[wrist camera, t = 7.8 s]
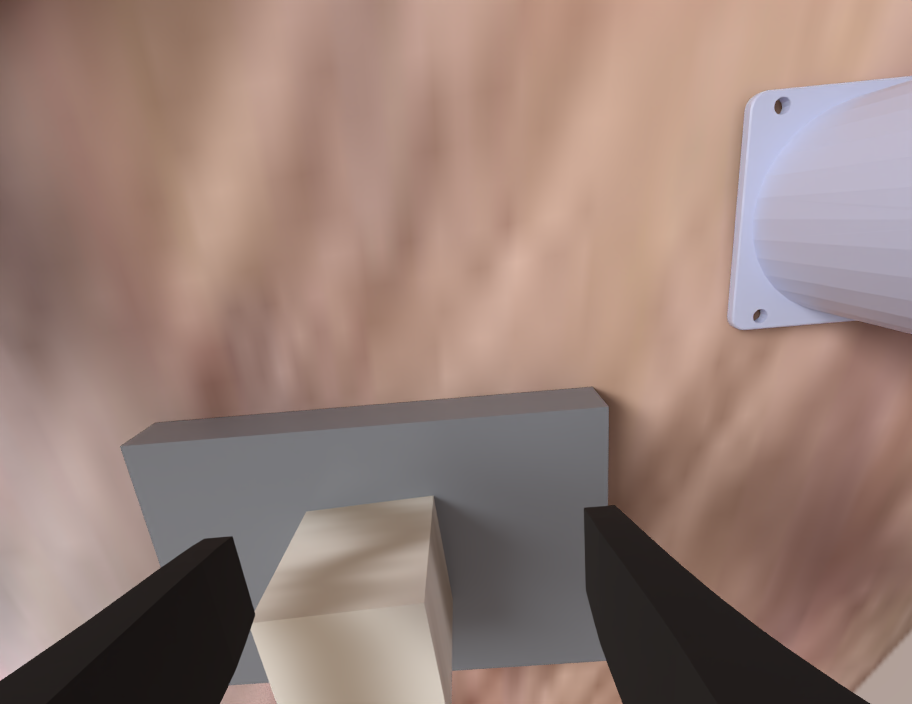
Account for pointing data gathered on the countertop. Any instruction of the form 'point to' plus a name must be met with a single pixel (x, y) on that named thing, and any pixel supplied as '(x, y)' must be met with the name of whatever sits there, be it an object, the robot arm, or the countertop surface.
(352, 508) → the cream cube
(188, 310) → the countertop surface
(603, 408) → the slate board
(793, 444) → the countertop surface
